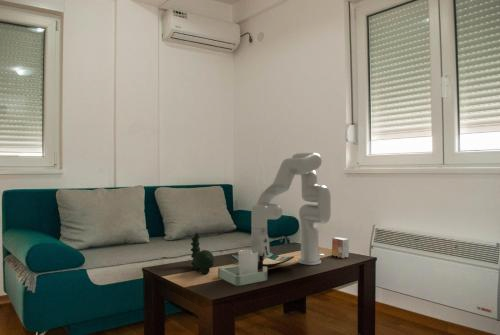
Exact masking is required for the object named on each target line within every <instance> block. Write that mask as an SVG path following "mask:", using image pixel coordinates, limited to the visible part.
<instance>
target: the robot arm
mask: <svg viewBox="0 0 500 335" xmlns="http://www.w3.org/2000/svg"><path fill="white" fill-rule="evenodd" d="M322 161H323V160H322V157H321V155H320V154H319V153H316V152H299V153H297V152H296V153H295V154H293V155H292V156H291V158H290V157H289V158H285V159H284V160H282V162H281V164H280V167H279V169H278V170H277V173H276V175H275V178H274V181H273V182H272V183H271V184H270V185H268V187H266V189H265V190H263V192H261V194H260V195H259V198H258V200H257V201H256V204H254V205H252V207H251V236H250V247H249V249H251V250H252V253H258V252H259V257H258V271H260V270H263V267H264V261H265V259H267V258H268V256H269V255H270V240H269V234H268V220H278V219H280V218H281V217H282V215H283V209H282V207H281V206H280V205H279V204H276V203H270V202H271V201H272V200H273V199H274V198H275V197H277V196H279V195H282V194H284V193H285V192H287V191H289V189H290V188H291V185H292V182H293V179H294V178H295V176H301V177H300V178H301V179H300V180H301V198H302V199H303V201H305V202H308V203H307V204H306V203H305V204H303V205H301V206H300V207H299V211H298V216H299V220H300V221H299V222H300V258H298V259H297V262H298V263H299V264H300V265H301V264H302V265H306V266H307V265H309V266H314V265H321V263H322V260H321V258H324V257H325V253H319V234H320V233H319V232H320V231H319V227H318V225H317V224H327V223H328V222H330V219H331V214H332V213H331V211H332V210H331V209H332V208H331V206H332V205H331V203H332V202H331V199H332V198H331V192H330V189H329V187H327V186H326V185H323V184H318V174H317V172H316V170H318V169H319V168H320V167H321V165H322ZM309 202H310V203H309ZM311 203H317V204H311Z"/></svg>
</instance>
